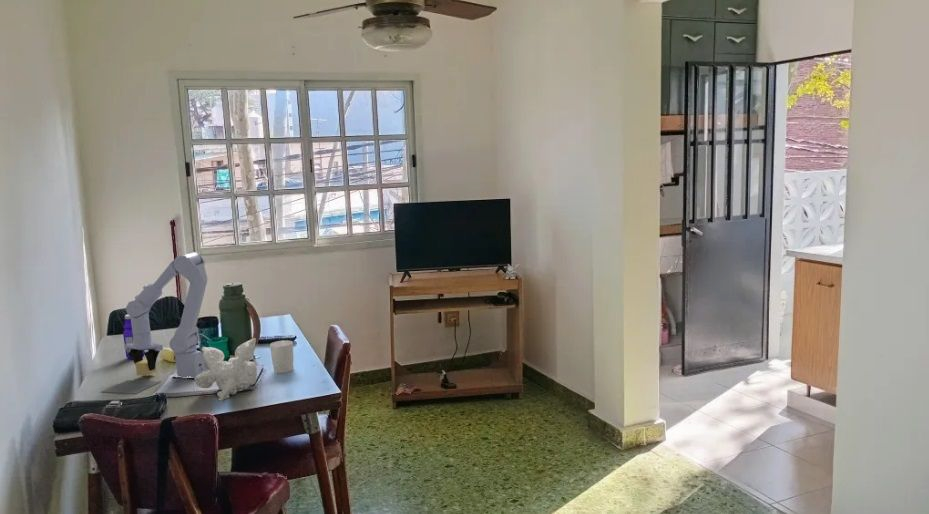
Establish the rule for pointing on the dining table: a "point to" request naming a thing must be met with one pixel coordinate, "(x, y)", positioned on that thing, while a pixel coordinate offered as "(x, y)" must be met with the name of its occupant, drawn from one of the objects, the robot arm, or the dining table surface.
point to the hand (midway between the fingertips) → (146, 369)
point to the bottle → (128, 334)
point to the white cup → (282, 356)
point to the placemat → (131, 386)
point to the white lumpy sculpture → (229, 370)
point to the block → (144, 368)
